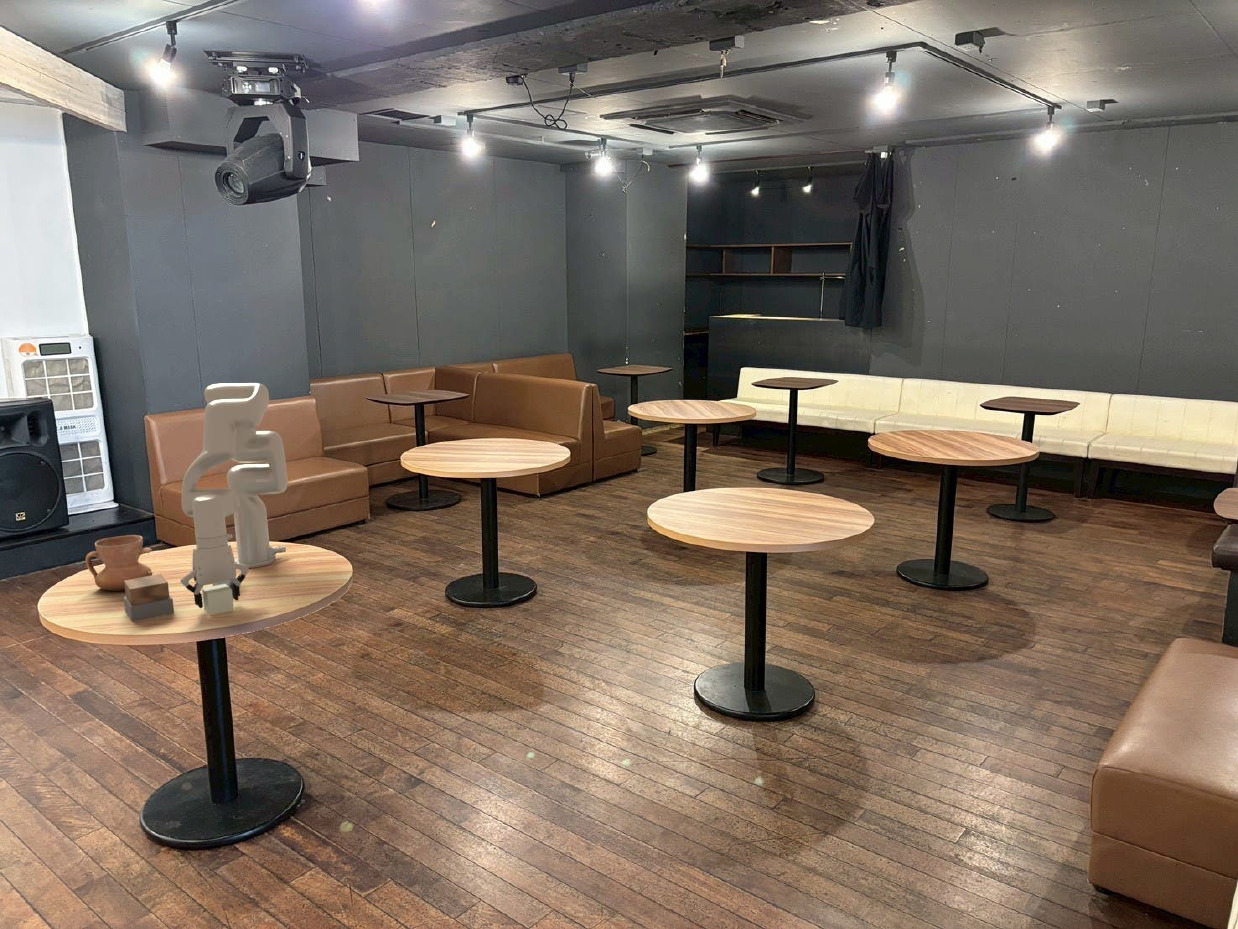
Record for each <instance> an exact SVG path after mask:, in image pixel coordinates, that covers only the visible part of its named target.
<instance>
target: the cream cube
mask: <svg viewBox="0 0 1238 929" xmlns="http://www.w3.org/2000/svg"><path fill="white" fill-rule="evenodd" d="M201 592H202V593H201V594H202V602H203V609H204V611H206V613H207V614H208V615H209V616H214V615H218V614H223V613H227V612H232V611H234V610H235V609H234V603H233V600H234V598H233V595H232V587H228V586H227V585H226V584H221V585H216V586H213V585H212V586H207V587H202V589H201Z"/></svg>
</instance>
